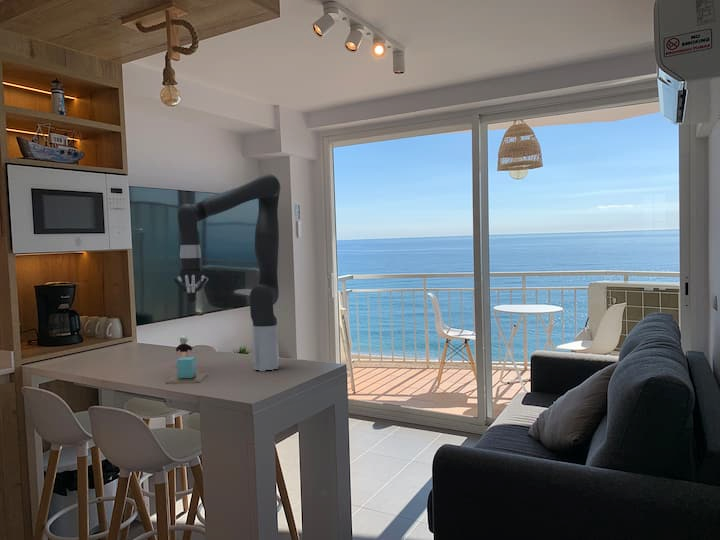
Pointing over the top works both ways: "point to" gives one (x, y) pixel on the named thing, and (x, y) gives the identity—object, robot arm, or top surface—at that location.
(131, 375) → the top surface
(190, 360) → the turquoise rectangular block
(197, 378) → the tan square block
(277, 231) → the robot arm
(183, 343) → the grandmother figurine
